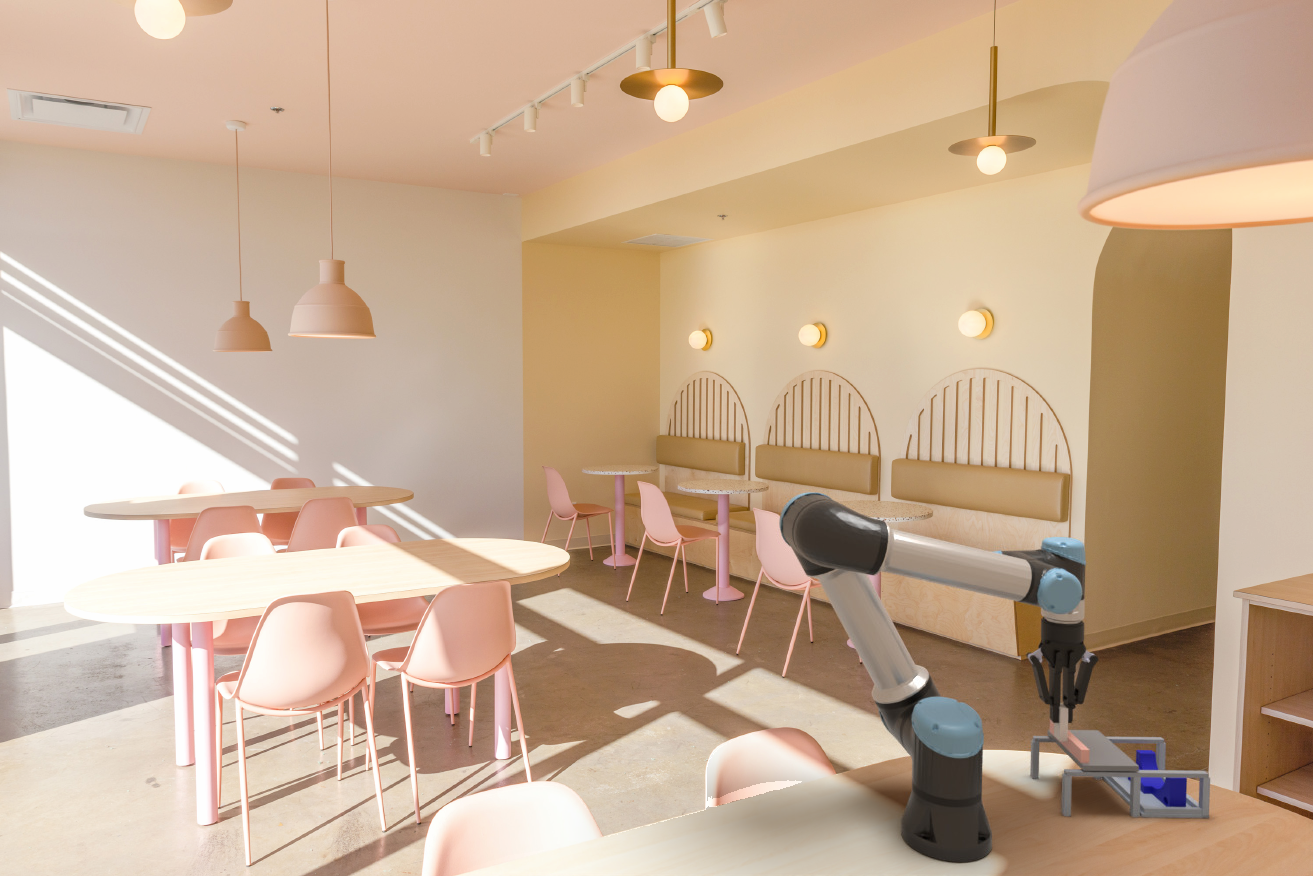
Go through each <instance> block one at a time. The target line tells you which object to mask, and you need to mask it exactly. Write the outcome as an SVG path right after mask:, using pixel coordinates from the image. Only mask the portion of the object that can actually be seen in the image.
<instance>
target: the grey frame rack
mask: <svg viewBox="0 0 1313 876" xmlns="http://www.w3.org/2000/svg"><path fill="white" fill-rule="evenodd" d="M1105 737H1106V738H1108V739H1109V740H1110V741H1111V742H1112V743H1113V744H1156V747H1155V748H1156V750H1155V753H1156V763H1157V767H1158V770H1139V771H1083V770H1082V769H1081V768H1080V769H1078V768H1064V769H1063V772H1062V774H1061V775H1062V777H1061V808H1060V809H1061V815H1062V816H1064V817H1072V785H1073V784H1072V781H1073V779H1072V777H1091V778H1093V779H1094V780H1103V781H1104V782H1105V783H1107V785H1109V787H1110V788H1112V790H1113V791H1114V792H1115V793H1116V794H1117V795H1118V796H1120V798H1121V799H1123V801H1125V802H1126V803H1127V804H1128V805H1129V815H1130V816H1131V817H1132V818H1140V817H1141V818H1160V819H1162V818H1163V819H1164V818H1167V819H1168V818H1170V819H1174V818H1176V819H1210V796H1211V777H1209V775H1210V774H1209V773H1208V772H1207V771H1206V770H1175V769H1173V770H1170V769H1168V770H1167V769H1166V753H1167V752H1166V750H1167V749H1166V745H1167V744H1166V743H1167V742H1165V739H1164V738H1163V737H1162V736H1159V737H1158V736H1151V737H1150V736H1105ZM1040 743H1055V742H1054V741H1053V740H1052V739H1051V738H1050V737H1049V736H1048V735H1032V739H1030V768H1029V769H1030V777H1031V779H1033V780H1039V778H1040V777H1039V776H1040V775H1039V774H1040ZM1128 777H1131V782H1130V781H1129V780H1128ZM1141 777H1161V778H1162V780H1163V781H1164V783H1165V778H1187V779H1191V778H1192V779H1199V783H1198V784H1199V785H1198V787H1199V788H1198V801H1197V800H1195V799H1194V797H1192V796H1191V795H1190V794H1188V793H1187V792H1186V807H1166V806H1165V805H1164V804H1163V803H1162V802H1160V801H1159V800H1158V799H1157V798H1156V797H1155V796H1154V795H1153V794H1144V793H1143V792H1141V791H1140V786H1141Z"/></svg>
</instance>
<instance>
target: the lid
mask: <svg viewBox="0 0 1313 876" xmlns="http://www.w3.org/2000/svg"><path fill="white" fill-rule="evenodd" d="M1047 736H1049V737H1050V738H1051V739H1052V740H1053V741H1054V742H1053V743H1055V744H1056V745H1057V746H1058V747H1059V748H1060V749H1061V750H1062V751H1063V752H1064V753H1065V754H1066V755H1067V756H1068V757H1069V758H1070V759H1071V760H1072V761H1073V762H1074V764H1076V765H1077V766H1078V767H1079V768H1080V769H1082V770H1083V771H1139V766H1138V765H1137V764H1136V761H1134V760H1133V759H1132V758H1131V757H1129V756H1128V755H1127V753H1125V752H1123V751H1122V750H1121V749H1120V748H1119V747H1118V746H1117V745H1115V743H1112V742H1111V741H1110V740H1109V739H1108V738H1106V737H1107V736H1105V735H1104V734H1103V733H1102V732H1101V731H1100V730H1097V729H1092V730H1091V729H1068V742H1060V741H1059V740H1058V739H1057V738H1056V737H1055V736H1054V723H1053V722H1052V721H1051V720H1050V719H1049V729H1047Z"/></svg>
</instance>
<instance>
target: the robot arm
mask: <svg viewBox="0 0 1313 876" xmlns="http://www.w3.org/2000/svg"><path fill="white" fill-rule="evenodd" d="M778 524H779V530H780V533H781V536H782V539H783V541H784V542H785V544H787V546H789V547H791V549H792V551H793V553H794V556H796V558H797V560H798V562H799V564H800V566H801V568H802V569H803V571H804V573H805V575H806V576H807V577H810V578H812V579H815V580H818V582H819V584H820V586H821V588H822V589H823V591H824V593H825V595H826V597H827V598H828V601H829V603H830V605H831V607H832V608H833V610H834V612H835V614H836V616H837V618H838V620H839V621H840V623H841V625H842V627H843V629H844V630H845V633H846V634H847V636H848V638H849V640H850V642H851V643H852V646H853V647H854V649H855V651H856V653H857V655H858V657H859V658H860V660H861V662H862V664H863V666H864V668H865V670H866V671H867V673H868V675H869V677H870V679H871V680H872V682H873V684H874V685H873V686H872V689H871V697H872V699H873V701H874V703H875V705H876V707H877V709H878V714H879V716H880V720H881V721H882V723H883V726H884V727H885V729H886V730H887V731H888V732H889V733H890V734H891V736H892V737H893V738H894V739H895V740H897V742H898V743H899V744H900V746H901V747H903V749H904V750H905V751H906V753H907V754H908V755H909V756H910V757H911V764H912V765H911V769H912V770H911V793H910V795H909V798H908V800H907V803H906V806H905V809H904V811H903V814H902V817H901V824H900V825H901V827H900V828H901V829H900V830H901V836H902V839H903V840H904V842H905V843H906V844H907V845H908V846H909V847H911V848H912V849H913V850H915V851H917V852H918V853H920V854H922V855H925V856H928V857H931V858H933V859H936V860H937V859H938V860H941V861H945V862H946V861H947V862H955V863H957V862H959V863H963V862H965V863H966V862H973V861H978V860H980V859H983V858H985V857H986V856H987V855H989V854H990V852H991V850H992V849H993V847H992V846H993V833H992V832H993V831H992V829H991V825H990V822H989V819H988V815H987V813H986V809H985V806H984V803H983V798H982V797H983V766H984V765H983V763H984V761H983V758H984V757H983V756H984V754H983V753H984V742H985V738H984V737H985V733H984V729H983V721H982V717H981V716H980V715H979V713H978V711H976V710H975V709H974V708H973V707H972V706H970V705H968V703H966V702H963V701H961V702H958V700H957V699H956V698H951V697H946V696H942V695H941V692H940V691H939V689H938V687H937V685H936V684H935V681H934V680H933V678H932V677H931V675H930V673H929V671H928V670H927V668H926V667H924V666H921V665H918V664H916V663H915V662H914V660H913V658H912V656H911V653H909V651H908V649H907V647H906V645H905V642H904V641H903V639H902V637H901V635H900V634H899V630H898V629H897V628H896V626H895V623H894V622H893V620H892V618H891V616H890V614H889V613H888V611H887V609H886V607H885V605H884V604H883V601H882V600H881V598H880V596H879V594H878V591H877V590H876V588H875V586H874V585H873V584H874V583H872V581H871V579H870V577H869V576H876V575H878V574H880V573H881V572H882V573H887V574H892V575H896V576H900V577H905V578H910V579H915V580H919V581H924V582H929V583H931V584H932V583H933V584H937V585H942V586H946V587H951V588H956V589H961V590H965V591H969V592H974V593H978V594H982V595H988V596H993V597H997V598H1001V599H1005V600H1010V601H1014V602H1017V603H1021V604H1025V605H1028V606H1029V605H1031V606H1034V607H1039V608H1041V609H1040V615H1041V616H1042V618H1041V619H1040V642H1039V644H1038V646H1037V647H1038V649H1036V650H1035V651H1033V652H1030V651H1029V652H1027V653H1025V654H1026V655H1025V656H1026V658H1027V660H1028V661H1029V663H1030V665H1031V668H1032V672H1033V677H1034V680H1035V685H1036V688H1037V693H1038V697H1039V699H1040V700H1041V701H1042V702H1043V703H1044V704H1045V705H1049V721H1050V720H1051V721H1052V722H1053V723H1054V736H1055V737H1056V738H1057V739H1058V740H1059V741H1060V742H1068V730H1069V724H1072V723H1073V721H1074V719H1073V717H1074V716H1073V715H1074V710H1075V709H1076V708H1077V707H1076V705H1083V704H1084V702H1085V698H1086V694H1087V691H1088V687H1089V684H1090V679H1091V677H1092V676H1091V675H1092V672H1093V669H1094V667H1095V666H1096V665H1097V663H1098V662H1099V657H1098V656H1097V655H1095V654H1094V653H1093V652H1091V651H1088V650H1087V647H1086V645H1085V643H1084V641H1085V622H1084V621H1083V620H1084V619H1085V610H1086V609H1085V605H1086V601H1085V600H1086V598H1085V597H1086V596H1085V595H1086V594H1085V593H1086V566H1087V562H1086V560H1087V559H1086V549H1085V548H1086V547H1085V544H1084V542H1083V541H1081V540H1079V539H1076V538H1073V537H1065V536H1050V537H1045V538H1044V539H1042V542H1041V546H1040V549H1029V550H1000V549H999V550H995V551H990V550H986V549H980V548H978V547H977V548H976V547H973V546H969V545H968V546H967V545H963V544H959V543H956V542H955V543H954V542H950V541H947V540H946V541H945V540H942V539H937V538H933V537H930V536H926V535H925V536H924V535H922V534H921V535H920V534H915V533H911V532H907V531H903V530H899V529H894V528H891V527H890V526H889V523H888V522H886V521H885V520H882V519H878V518H874V517H869V516H867V515H865V514H861V513H859V512H857V511H855V510H853V509H851V508H850V507H848V506H846V505H845V504H843V503H840V502H838V501H836V500H834V499H832V498H831V497H830V496H828V495H827V494H824V493H821V492H817V491H816V492H811V491H809V492H802V493H800V494H797V495H795V496H793V497H792V498H790V500H788V501H787V503H786V504H785V505H784V507H783V508H782V510H781V513H780V515H779V523H778ZM1042 657H1043V658H1044V659H1045V661H1046V662H1047V664H1048V665H1047V666H1048V670H1049V673H1048V674H1049V675H1048V683H1047V679H1046V675H1045V671H1044V667H1043V664H1042V662H1043V658H1042ZM1080 660H1081V661H1080ZM1079 661H1080V665H1079V668H1078V672H1076V671H1077V664H1078V663H1079ZM1075 673H1077V676H1076V680H1075V675H1076V674H1075ZM1061 682H1062V684H1061ZM1061 685H1062V687H1061ZM1061 688H1062V690H1061ZM1061 691H1062V694H1061ZM1061 695H1062V699H1061ZM1061 700H1062V702H1061Z"/></svg>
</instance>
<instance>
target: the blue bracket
mask: <svg viewBox="0 0 1313 876" xmlns="http://www.w3.org/2000/svg"><path fill="white" fill-rule="evenodd" d="M1135 763H1136V764H1137V765H1138V766H1139V770H1158V767H1157V763H1156V752H1155V751H1153V750H1152V749H1150V750H1149V749H1147V750H1145V749H1144V750H1142V749H1136V750H1135ZM1128 780H1129V781H1130V782H1131V777H1128ZM1187 785H1188V778H1165V783H1164V781H1163V780H1162V778H1161V777H1141V786H1140V791H1141V792H1143V793H1144V794H1153V795H1154V796H1155V797H1156V798H1157V799H1158V800H1159V801H1160V802H1162V803H1163V804H1164V805H1165V806H1166V807H1186V793H1187V792H1188V789H1187Z"/></svg>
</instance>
